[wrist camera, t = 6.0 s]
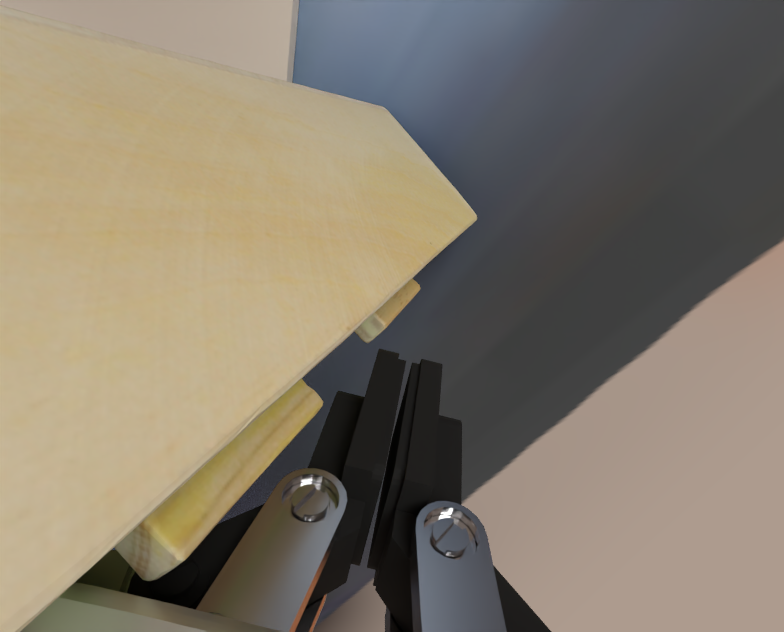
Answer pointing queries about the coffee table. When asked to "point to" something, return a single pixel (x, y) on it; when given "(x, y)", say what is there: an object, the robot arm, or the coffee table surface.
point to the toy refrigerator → (176, 287)
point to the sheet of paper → (191, 27)
